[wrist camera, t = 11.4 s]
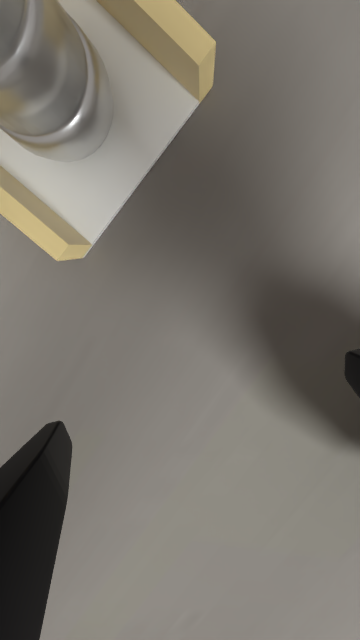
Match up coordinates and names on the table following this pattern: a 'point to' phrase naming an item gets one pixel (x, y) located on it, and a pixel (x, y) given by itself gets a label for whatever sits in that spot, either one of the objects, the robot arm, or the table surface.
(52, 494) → the robot arm
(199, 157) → the table surface
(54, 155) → the plastic bottle
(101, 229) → the bay
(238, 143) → the table surface
